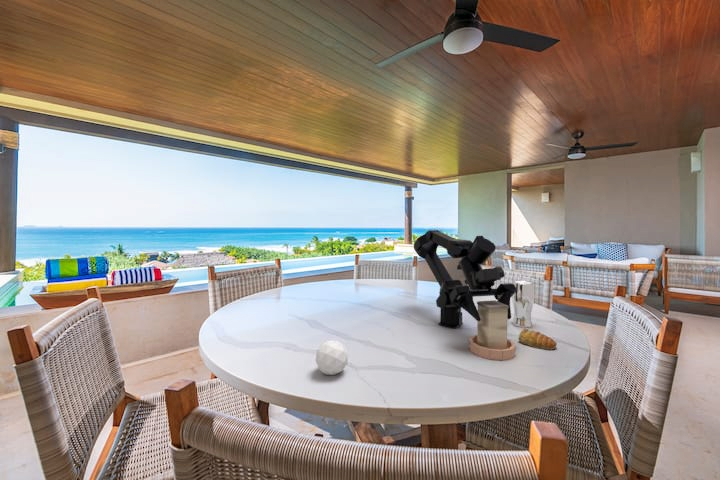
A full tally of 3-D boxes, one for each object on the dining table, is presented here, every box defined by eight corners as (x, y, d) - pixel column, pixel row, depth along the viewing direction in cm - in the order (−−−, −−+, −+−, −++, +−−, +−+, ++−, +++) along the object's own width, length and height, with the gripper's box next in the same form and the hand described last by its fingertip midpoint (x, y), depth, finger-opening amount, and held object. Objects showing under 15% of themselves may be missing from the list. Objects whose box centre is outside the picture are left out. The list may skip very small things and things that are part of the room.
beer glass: (537, 328, 103) (538, 284, 102) (517, 328, 103) (517, 284, 102) (527, 321, 110) (527, 280, 109) (507, 321, 110) (508, 280, 109)
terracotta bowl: (462, 351, 85) (462, 342, 85) (478, 339, 94) (478, 331, 94) (507, 364, 77) (507, 354, 77) (519, 349, 86) (520, 341, 86)
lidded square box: (476, 343, 88) (477, 301, 87) (494, 342, 89) (495, 300, 88) (488, 352, 82) (489, 307, 81) (507, 350, 83) (508, 305, 82)
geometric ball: (323, 385, 73) (303, 358, 74) (344, 362, 79) (325, 337, 79) (338, 381, 68) (317, 351, 68) (360, 356, 74) (340, 330, 74)
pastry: (559, 347, 88) (560, 334, 88) (551, 353, 84) (551, 340, 84) (525, 337, 95) (525, 325, 95) (516, 343, 91) (516, 331, 91)
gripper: (454, 257, 86) (475, 306, 76) (513, 256, 90) (541, 302, 79) (442, 280, 95) (459, 327, 84) (496, 277, 98) (519, 322, 88)
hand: (494, 319), depth 84 cm, fingers open, 9 cm apart
